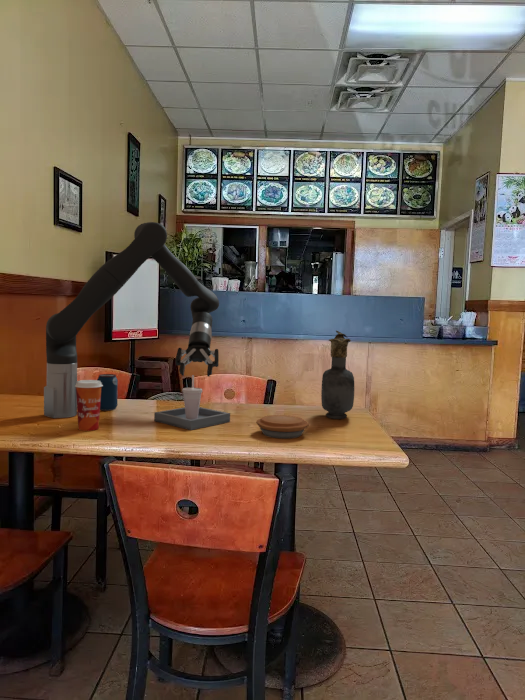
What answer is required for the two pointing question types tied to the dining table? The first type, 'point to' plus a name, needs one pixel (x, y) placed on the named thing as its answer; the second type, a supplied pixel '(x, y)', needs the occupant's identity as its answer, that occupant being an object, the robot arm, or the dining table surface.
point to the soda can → (108, 391)
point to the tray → (204, 419)
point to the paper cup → (88, 404)
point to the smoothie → (192, 401)
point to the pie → (282, 426)
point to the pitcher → (338, 381)
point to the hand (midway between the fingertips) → (195, 374)
